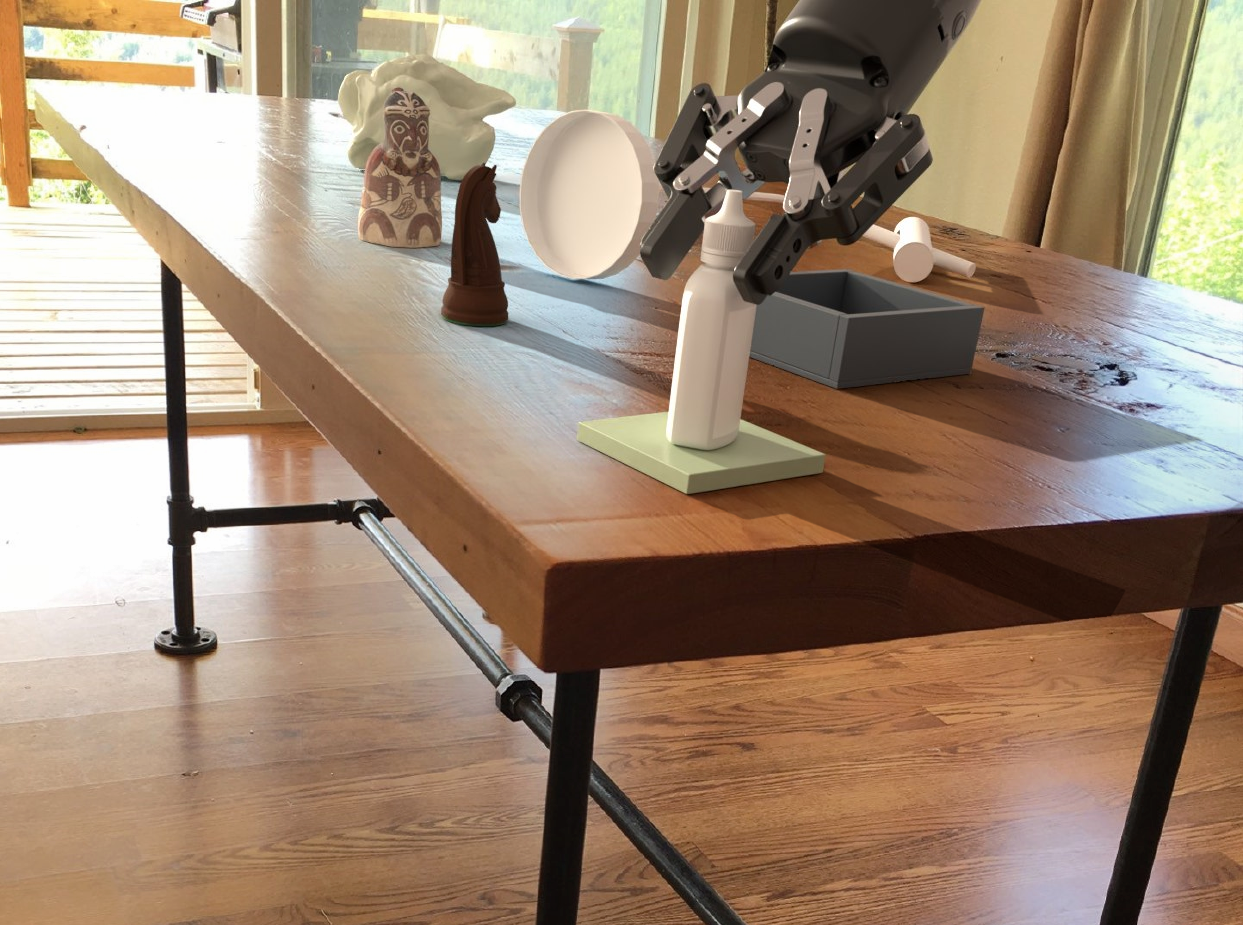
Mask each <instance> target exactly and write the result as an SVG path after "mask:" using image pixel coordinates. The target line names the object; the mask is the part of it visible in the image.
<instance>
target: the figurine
mask: <svg viewBox="0 0 1243 925" xmlns="http://www.w3.org/2000/svg"><path fill="white" fill-rule="evenodd" d="M429 115H430V109H429V108H428V107H427V106H426V105H425V103H424V101H423V100H422V99H421V98H420V97H419V96H418V95H416V94H415V93H414V92H410V91H404V90H403V89H402V88H400V87H395V88H394V89H392V93H391V94H390V95H389V96H388V98H387V99H386V101H385V103H384V106H383V122H384V142H383V143H381V144H379V145H378V146H376V147H375V149H374V150H373V151H372V153H371V154H370V156H369V158H368V160H367V163H366V167H365V171H363V172H364V173H363V174H364V176H363V185H362V193H361V201H360V205H359V211H358V216H357V232H358V238H359V240H361V241H363V242H368V243H371V244H376V245H381V246H387V247H392V248H411V249H416V248H417V249H418V248H429V247H437V246H440V245H441V242H442V233H443V232H442V231H443V214H442V189H441V188H442V186H441V185H442V179H441V178H442V177H441V176H442V175H440V168H439V164H438V162H437V160H436V158H435V157H434V156H433V154H432V153H431V152H430V150H428V141H429Z"/></svg>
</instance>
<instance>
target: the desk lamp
mask: <svg viewBox="0 0 1243 925" xmlns="http://www.w3.org/2000/svg"><path fill="white" fill-rule="evenodd" d="M652 152H653V151H652V150H651V147H650V146H649V144H648V142H647V140H646V139H645V137H644V135H643V134H642V133H641V131H639V129H638V128H636V127H635V125H634V124H633V123H632V122H630V121H629V120H627V119H625V118H624V117H622V116H620V115H618V114H615V113H610V112H606V111H601V110H593V109H577V110H570V111H568V112H566V113H564V114H560V115H558V116H557V117H556V118H555V119H553V120H552V121H551V122H550V123H548V124H547V125H546V126H545V127H544V128H543V129H542V131H541V132H540V133H539V134H538V136H537V137H536V138H535V140H534V141H533V144H532V146H531V148H529V151H528V153H527V156H526V158H525V162H524V164H523V168H522V171H521V177H520V184H519V213H520V218H521V223H522V228H523V231H524V234H525V236H526V239H527V240H526V241H527V242H528V244H529V246H530V248H531V249H532V251H533V253H534V254H535V257H536V258H538V260H540V262H541V263H542V264H543V265H544V266H545V267H546V268H547V269H549V270H550V271H552V272H553V273H555V274H557V276H561V277H563V278H568V279H570V280H603V279H607V278H610V277H613V276H617V275H618V274H619V273H621V272H622V271H625V269H627V268H629V267H630V265H631V264H632V263H633V262H634V261H635V260H636V259H637V258H638V257H639V256H640V250H641V247H640V244H641V240H642V237H643V236H644V234H645V233H646V232H647V230H648V229H650V226H651V225H652V223H654V220H655V219H656V218H657V216H658V210H659V204H660V194H666V193H665V191H664V189H663V187H662V185H661V184H660V182H659V180H658V178H657V176H656V174H655V172H654V170H653V167H654V165H655V162H656V161H655V158H654V154H653V153H652ZM702 188H703V190H704V192H705V193H706V192H707V191H708V190H710V189H711V188H712V187H703V186H702ZM785 196H786V195H784V194H778V193H770V192H759V191H755V192H754V193H753V194H751V195H750V196H749V197H748V198H747V199H745V200H746V201H747V200H748V201H758V202H771V203H777V204H781V205H783V203H784V200H785ZM745 200H744V201H745ZM861 238H864V239H867V240H870V241H873V242H875V243H878V244H880V245H882V246H885V247H888V248H891V249H893V269H894V272H895V274H896V275H897V277H898V278H900V279H901V280H902V281H904V282H906V283H917V282H920V281H922V280H924V279H926V278H927V277H928V276H929V275H930V273H931V272H932V270H933V268H934V266H936V267H939V268H941V269H943V270H946V271H948V272H951V273H955V274H957V275H958V276H961V277H964V278H965V279H971V278H972V277H973V275H974V273H975V272H976V269H977V268H976V267H977V264H976V263H975V262H972V261H969V260H967V259H964V258H962V257H959V256H956V255H954V254H952V253H948V252H946V251H943V250H941V249H939V248H936V247H933V245H932V239H931V238H932V237H931V232H930V227H929V225H928V223H927V222H926V221H925V220H924V219H922V218H920V217H917V216H909V217H905V218H903V219H902V220H901V221H900V222H899V223H898V224H897V225H896V226H895V228H894V231H891V230H889V229H887V228H885V227H881V226H879V225H877V224H875V223H874V224H873V225H872V226H871V227H870V228H869V229H868V230H867V231H866V232H865V233H864V234H863V236H862V237H861Z"/></svg>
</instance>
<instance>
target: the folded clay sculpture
mask: <svg viewBox="0 0 1243 925" xmlns="http://www.w3.org/2000/svg"><path fill="white" fill-rule="evenodd" d="M395 87H400V88H402V89H403V90H404V91H410V92H414V93H415V94H416V95H418V96H419V97H420V98H421V99H422V100H423V101H424V103H425V105H426V106H427V107H428V108H429V109H430V115H429V141H428V150H430V152H431V153H432V154H433V156H434V157H435V158H436V160H437V162H438V164H439V168H440V175H441V176H444V177H446V178H447V179H449V180H453V181H462V179H463V178H464V176H465V174H466V173H467V172H468V171H469V170H470V169H471V168H473V167H474V166H477V165H482V164H483V163H485V166H487V165H486V164H488V161H489V159H490V157H491V155H492V153H493V150H494V148H495V143H496V139H497V138H496V130H495V127H494V126H491V125H490V124H489V123H488V122H486V121H484V119H485V118H486V117H488V116H493V115H498V114H501V113H503V112H506V111H508V110H509V109H510V110H511V109H512V108H514V107H516V105H517V101H516V99H515V97H514V96H513V95H512V94H511V93H509V92H508V91H506V90H505V89H501V88H499V87H495V86H491V85H488V84H486V83H485V84H484V83H481V82H476V81H475V80H474V79H472V78H471V77H469V76H467V75H465V74H464V73H463V72H460V71H459V70H458V69H456V68H455V67H453V66H449V65H447V64H445V63H444V62H440V61H438V60H437V59H436V58H435V57H433V56H431V55H428V54H425V53H422V54H410V55H406V56H400V57H395V58H394V59H392V60H385V61H384V62H382V63H381V64H380V65H378V66H377V67H374V68H373V69H372V70H371V71H369V70H364V69H361V70H360V69H356V70H353V71H352V72H350V73H348V74H346V75H345V76H344V79H343V81H342V83H341V85H340V87H339V90H338V95H337V103H338V105H339V107H340V108H339V109H340V110H341V113H342V117H343V119H344V120H346V121H347V122H348V123H349V124H350V125H351V126H352V129H351V132H352V135H351V136H350V138H349V141H348V144H347V148H346V154H347V158H348V161H349V163H350V164H351V165H352V166H353V167H354V169H356V168H359V169H365V167H366V163H367V160H368V158H369V156H370V154H371V153H372V151H373V150H374V149H375V147H376V146H378V145H379V144H381V143H383V142H384V122H383V106H384V103H385V101H386V99H387V98H388V96H389V95H390V94H391V93H392V89H394V88H395Z"/></svg>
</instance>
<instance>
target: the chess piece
mask: <svg viewBox="0 0 1243 925" xmlns="http://www.w3.org/2000/svg"><path fill="white" fill-rule="evenodd" d="M497 167H498V166H497V164H494V165H493V166H492V167H490V166H487V165H485V163H483V164H482V165H477V166H474V167H473V168H471V169H470V170H469V171H468V172H467V173H466V174H465V176H464V178H463V179H462V180H461V182H460V184H459V187H458V191H457V195H456V201H455V207H454V225H453V230H452V237H451V238H452V239H451V253H450V277H448V278H447V282H448V285H447V287H446V288H445V291H444V294H443V296H442V306H441V308H440V315H441V317H442V319H443V320H445V321H447V322H449V323H453V324H458V325H463V326H471V327H495V326H501V325H504V324H506V323H507V321H508V320H509V312H508V308H509V301H508V297H507V294H506V292H505V286H506V282H505V281H503V277H502V276H503V275H502V269H501V263H500V257H499V253H498V249H497V245H496V242H495V239H494V236H493V233H492V230H491V228H490V226H489V224H497V222H498V221H499V219H500V218H501V212H502V208H501V206H500V204H499V200H498V197H497V185H496V184H495V183H494V181H495V178H496V177H497V173H496V171H497Z"/></svg>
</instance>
